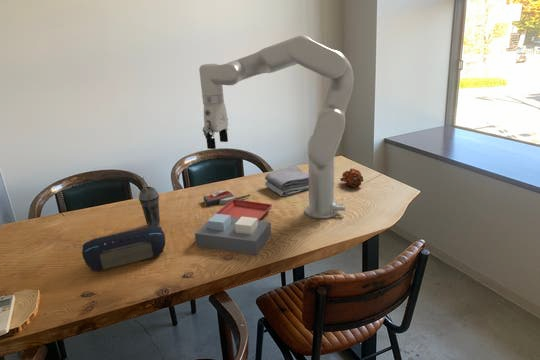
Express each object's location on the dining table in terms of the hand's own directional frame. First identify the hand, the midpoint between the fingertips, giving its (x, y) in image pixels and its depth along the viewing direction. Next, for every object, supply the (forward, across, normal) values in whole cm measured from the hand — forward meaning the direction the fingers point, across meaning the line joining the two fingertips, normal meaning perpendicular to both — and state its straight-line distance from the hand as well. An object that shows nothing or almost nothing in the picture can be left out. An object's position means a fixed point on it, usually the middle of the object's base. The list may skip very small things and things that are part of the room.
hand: (218, 145), depth 150 cm
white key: (+25, -20, -19) cm, 37 cm away
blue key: (+25, -20, -9) cm, 33 cm away
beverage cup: (+28, -18, +21) cm, 39 cm away
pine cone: (+28, +40, -43) cm, 65 cm away
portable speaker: (+28, -42, +13) cm, 52 cm away
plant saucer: (+28, -3, -9) cm, 30 cm away
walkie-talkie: (+28, +10, +5) cm, 30 cm away
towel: (+28, +30, -17) cm, 45 cm away
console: (+28, -20, -14) cm, 37 cm away
